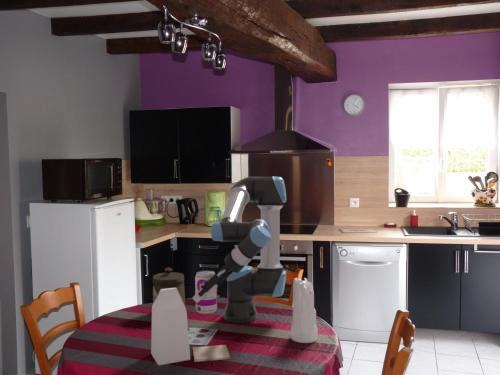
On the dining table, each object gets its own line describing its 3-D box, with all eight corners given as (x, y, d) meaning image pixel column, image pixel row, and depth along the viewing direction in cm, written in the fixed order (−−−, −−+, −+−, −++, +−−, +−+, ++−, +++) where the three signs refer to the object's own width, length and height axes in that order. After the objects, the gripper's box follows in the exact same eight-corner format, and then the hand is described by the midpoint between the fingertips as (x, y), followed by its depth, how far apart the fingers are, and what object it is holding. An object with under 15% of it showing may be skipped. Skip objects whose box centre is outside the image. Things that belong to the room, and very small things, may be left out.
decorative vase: (320, 334, 217) (320, 275, 215) (314, 344, 207) (314, 282, 205) (294, 332, 220) (294, 273, 218) (288, 341, 210) (287, 280, 208)
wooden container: (159, 308, 256) (158, 263, 254) (188, 309, 254) (187, 264, 252) (149, 318, 241) (147, 271, 239) (180, 319, 239) (179, 271, 237)
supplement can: (213, 314, 198) (213, 275, 197) (192, 313, 200) (192, 274, 199) (219, 308, 206) (218, 270, 205) (199, 307, 208) (198, 270, 207)
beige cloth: (226, 346, 206) (226, 344, 205) (229, 359, 194) (229, 356, 194) (192, 349, 203) (192, 347, 203) (194, 361, 192) (194, 359, 192)
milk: (158, 365, 189) (156, 294, 187) (151, 353, 200) (149, 287, 197) (190, 359, 194) (188, 290, 192) (181, 348, 204) (180, 283, 202)
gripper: (241, 246, 207) (206, 283, 214) (219, 256, 187) (180, 296, 194) (254, 260, 205) (218, 297, 212) (233, 272, 186) (194, 312, 193)
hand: (200, 297), depth 203 cm, fingers closed on supplement can, 8 cm apart
